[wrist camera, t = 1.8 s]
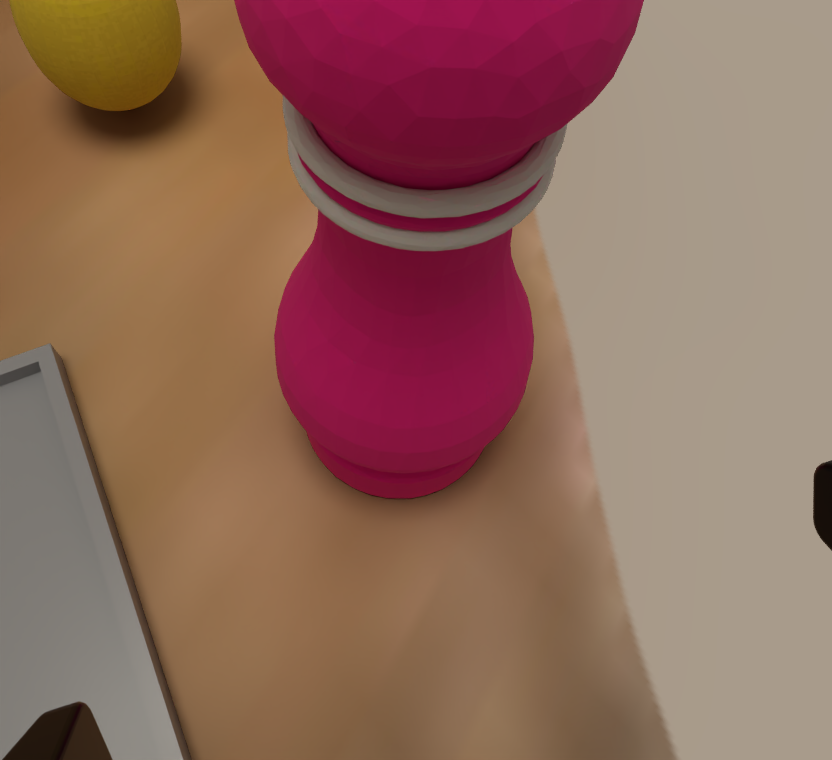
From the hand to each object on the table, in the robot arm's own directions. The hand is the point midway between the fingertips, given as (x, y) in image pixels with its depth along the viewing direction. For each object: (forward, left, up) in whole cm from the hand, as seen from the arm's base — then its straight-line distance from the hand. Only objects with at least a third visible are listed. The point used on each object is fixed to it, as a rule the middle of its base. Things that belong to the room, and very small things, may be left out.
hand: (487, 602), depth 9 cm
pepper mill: (+8, -3, -14) cm, 17 cm away
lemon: (+25, +1, -14) cm, 29 cm away
